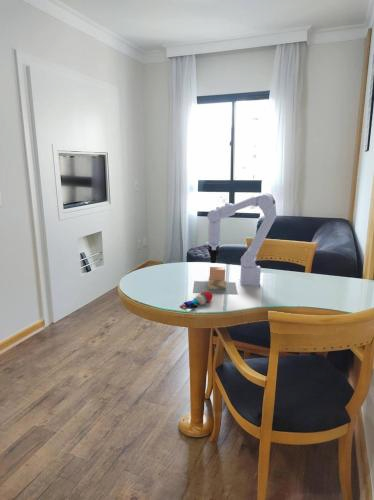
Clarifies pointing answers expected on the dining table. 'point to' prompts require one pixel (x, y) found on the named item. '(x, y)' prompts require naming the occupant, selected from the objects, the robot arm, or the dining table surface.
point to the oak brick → (217, 284)
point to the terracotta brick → (217, 273)
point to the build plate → (203, 287)
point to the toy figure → (199, 300)
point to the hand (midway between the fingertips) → (213, 260)
